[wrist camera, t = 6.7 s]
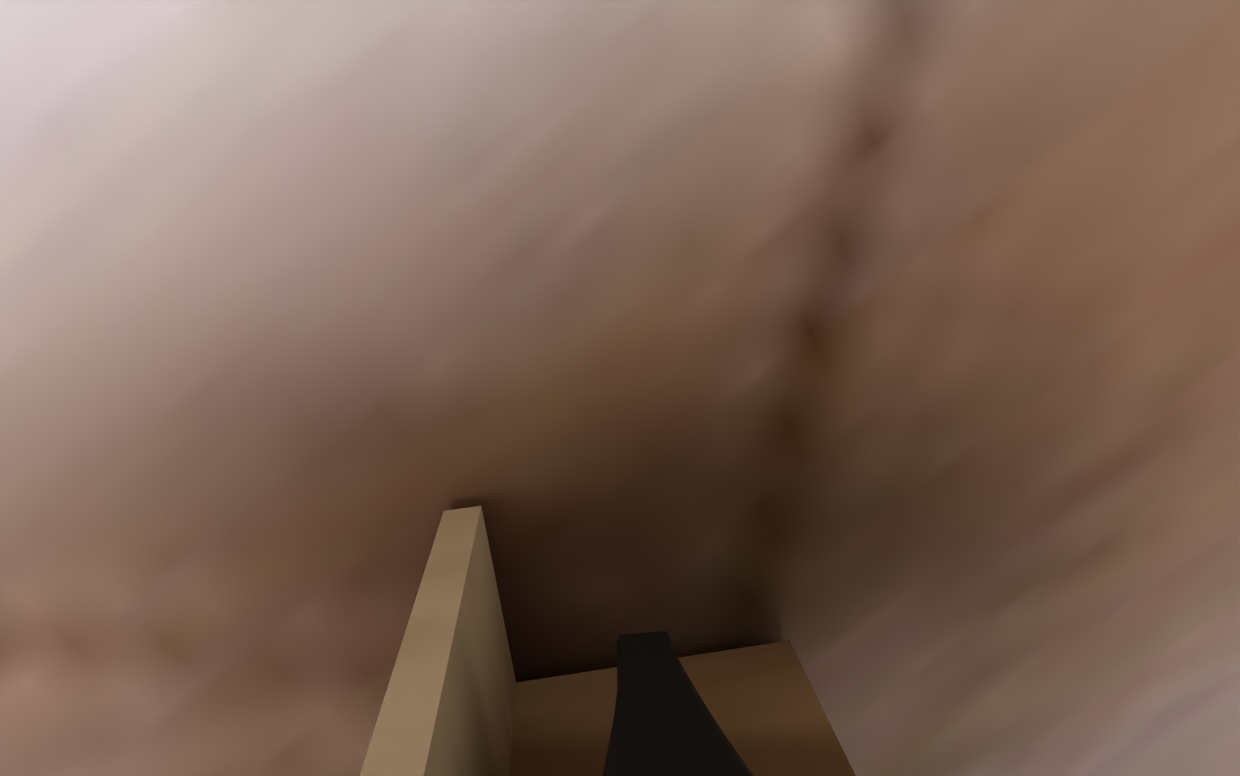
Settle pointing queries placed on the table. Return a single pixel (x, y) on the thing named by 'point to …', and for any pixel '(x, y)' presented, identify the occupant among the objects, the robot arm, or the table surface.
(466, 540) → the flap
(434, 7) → the table surface
